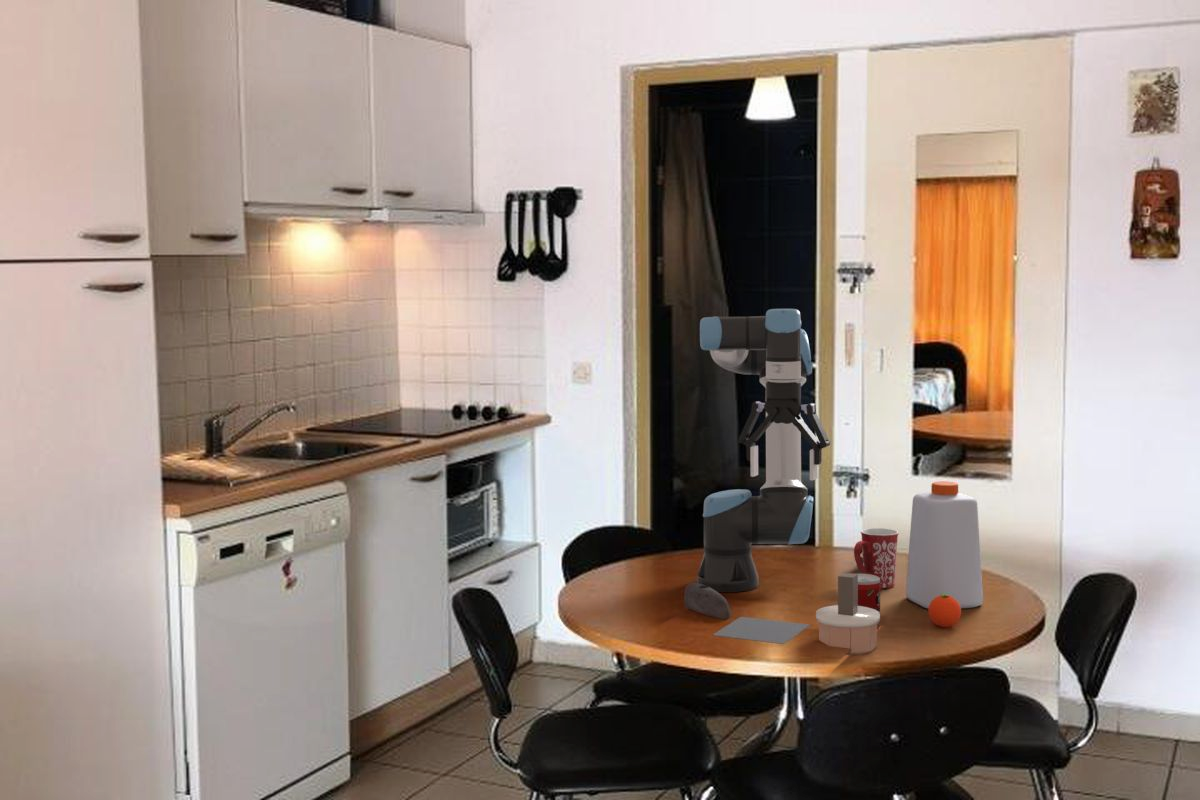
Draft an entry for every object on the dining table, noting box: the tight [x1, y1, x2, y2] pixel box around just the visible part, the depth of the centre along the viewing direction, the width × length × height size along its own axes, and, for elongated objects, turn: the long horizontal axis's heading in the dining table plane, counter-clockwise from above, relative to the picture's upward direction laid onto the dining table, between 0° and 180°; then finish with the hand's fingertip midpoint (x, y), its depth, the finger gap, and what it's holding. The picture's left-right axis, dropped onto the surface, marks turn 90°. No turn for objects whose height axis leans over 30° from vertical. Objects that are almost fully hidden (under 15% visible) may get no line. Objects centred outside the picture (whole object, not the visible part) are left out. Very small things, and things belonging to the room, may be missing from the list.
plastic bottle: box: [905, 480, 984, 610], centre depth 317 cm, size 15×15×28 cm
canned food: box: [857, 573, 881, 630], centre depth 299 cm, size 8×8×11 cm
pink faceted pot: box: [818, 621, 878, 656], centre depth 284 cm, size 11×11×6 cm
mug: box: [853, 527, 899, 590], centre depth 334 cm, size 13×9×14 cm
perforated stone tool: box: [683, 582, 731, 620], centre depth 308 cm, size 15×5×7 cm, turn 28°
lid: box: [815, 572, 881, 627], centre depth 283 cm, size 13×13×9 cm
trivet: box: [712, 616, 810, 645], centre depth 293 cm, size 16×16×2 cm
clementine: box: [928, 594, 962, 628], centre depth 299 cm, size 8×7×7 cm
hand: (783, 477), depth 299 cm, fingers open, 13 cm apart
